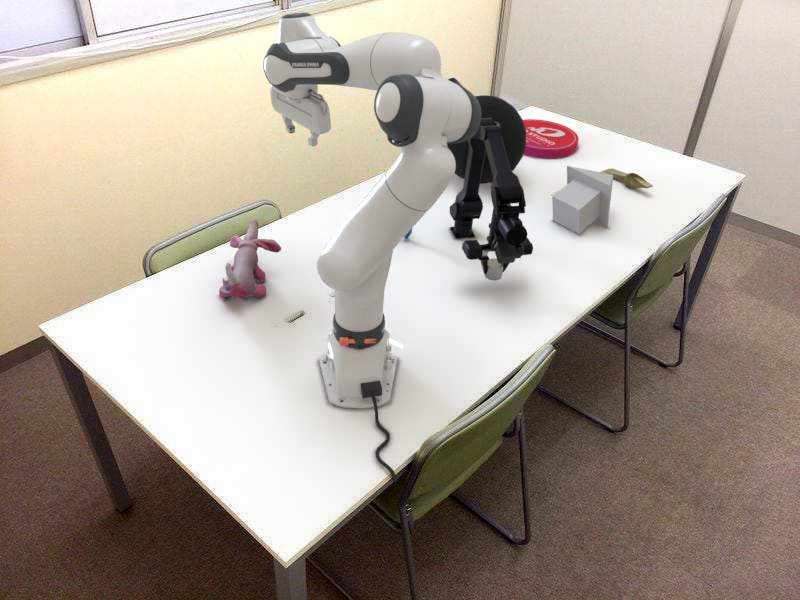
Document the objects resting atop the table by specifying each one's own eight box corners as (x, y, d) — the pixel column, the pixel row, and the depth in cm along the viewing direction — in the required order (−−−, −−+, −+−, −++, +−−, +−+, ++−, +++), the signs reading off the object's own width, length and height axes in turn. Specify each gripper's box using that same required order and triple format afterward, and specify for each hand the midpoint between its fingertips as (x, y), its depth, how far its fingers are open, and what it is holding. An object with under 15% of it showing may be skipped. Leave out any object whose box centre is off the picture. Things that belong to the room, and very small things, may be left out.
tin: (494, 268, 188) (496, 256, 185) (505, 277, 185) (507, 265, 182) (480, 273, 186) (482, 261, 183) (491, 282, 182) (493, 270, 180)
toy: (299, 270, 187) (288, 223, 179) (243, 315, 171) (228, 266, 163) (250, 258, 196) (238, 213, 188) (193, 300, 180) (176, 253, 172)
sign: (543, 165, 250) (591, 146, 266) (545, 156, 248) (593, 138, 264) (487, 137, 268) (535, 121, 284) (488, 129, 266) (537, 114, 282)
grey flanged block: (632, 205, 220) (636, 162, 206) (586, 246, 212) (587, 205, 199) (592, 185, 229) (593, 144, 216) (546, 224, 222) (544, 183, 209)
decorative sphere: (427, 189, 230) (433, 106, 212) (447, 155, 253) (455, 77, 235) (511, 205, 224) (526, 121, 206) (524, 168, 247) (539, 90, 229)
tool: (597, 174, 249) (599, 163, 246) (610, 171, 251) (612, 160, 248) (638, 197, 232) (641, 185, 229) (652, 193, 234) (655, 182, 231)
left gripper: (336, 94, 153) (337, 149, 161) (285, 70, 164) (288, 122, 172) (315, 100, 149) (316, 156, 158) (264, 74, 160) (268, 128, 169)
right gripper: (477, 244, 167) (470, 292, 176) (545, 238, 171) (535, 286, 180) (464, 221, 175) (458, 269, 185) (529, 216, 179) (520, 263, 189)
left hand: (301, 138), depth 165 cm, fingers open, 8 cm apart
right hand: (493, 272), depth 185 cm, fingers closed on tin, 5 cm apart
